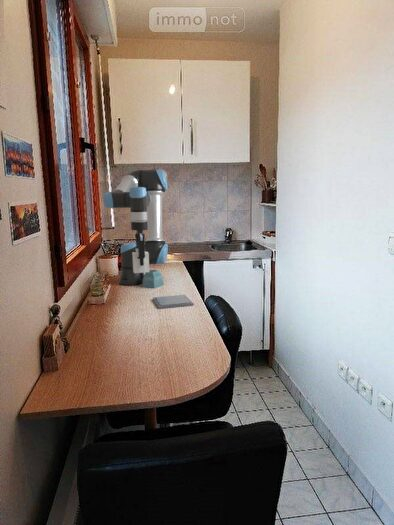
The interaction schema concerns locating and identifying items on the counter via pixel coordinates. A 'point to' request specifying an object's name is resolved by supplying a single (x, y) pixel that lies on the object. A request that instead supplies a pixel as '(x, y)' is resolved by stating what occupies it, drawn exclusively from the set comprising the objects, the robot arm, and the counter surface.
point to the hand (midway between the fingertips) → (141, 271)
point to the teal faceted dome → (152, 279)
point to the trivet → (172, 301)
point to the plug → (136, 263)
